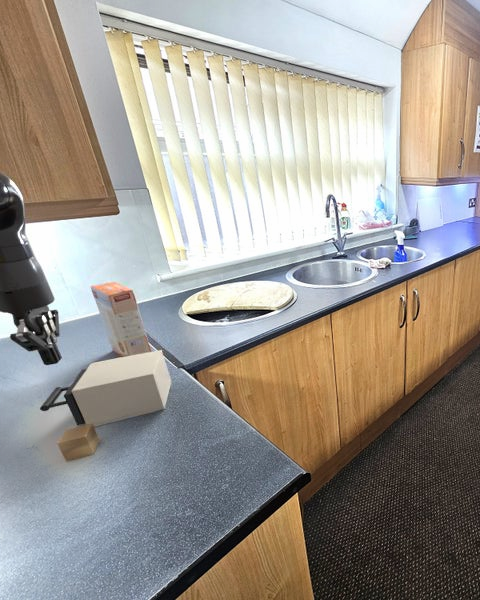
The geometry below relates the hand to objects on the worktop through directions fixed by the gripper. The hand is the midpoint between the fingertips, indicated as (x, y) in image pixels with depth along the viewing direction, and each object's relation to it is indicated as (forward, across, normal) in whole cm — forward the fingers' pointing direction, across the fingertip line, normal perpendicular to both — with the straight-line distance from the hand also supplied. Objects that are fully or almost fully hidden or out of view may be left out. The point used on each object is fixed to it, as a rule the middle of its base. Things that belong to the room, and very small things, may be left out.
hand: (53, 362), depth 67 cm
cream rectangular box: (+14, 0, +10) cm, 17 cm away
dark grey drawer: (+13, 0, +5) cm, 14 cm away
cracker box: (+14, -28, +5) cm, 32 cm away
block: (+14, +13, +5) cm, 20 cm away
